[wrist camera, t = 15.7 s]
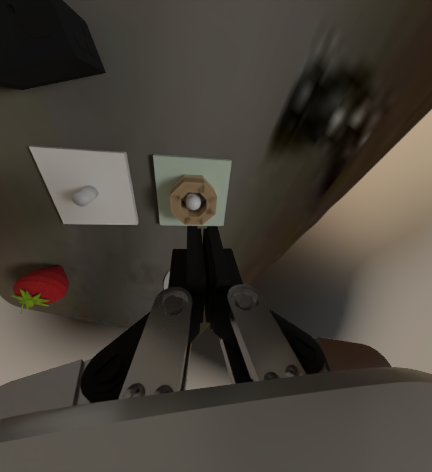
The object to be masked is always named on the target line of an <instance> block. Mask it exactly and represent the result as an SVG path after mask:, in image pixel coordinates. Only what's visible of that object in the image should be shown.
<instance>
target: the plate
mask: <svg viewBox="0 0 432 472" xmlns="http://www.w3.org/2000/svg"><path fill="white" fill-rule="evenodd" d="M153 161H154V171H155V181H156V191H157V200H158V210H159V220H160V225H184V224H183V223H182V222H181V221H180V220H178V219H177V218H176V217H175V216H174V215H173V214H171V205H170V193H171V189H172V186H173V185H174V184H175V183H176V182H177V181H178V180H179V179H180V178H181V177H182V176H183V175H184V174H188V175H203V176H204V177H205V179H206V180H207V181H208V182H209V183H210V184H211V185H212V186H213V188H214V189H215V192H216V195H217V204H216V214H215V215H214V216H213V217H211V218H210V219H209V220H208V221H206V222H205V223H204V224H203V225H187V226H223V224H224V216H225V209H226V201H227V193H228V186H229V178H230V170H231V162H232V161H231V160H228V159H214V158H200V157H186V156H172V155H158V154H154V155H153ZM182 200H183V201H184V202H185V203H186V206H187V207H188V208H189V209H190V210H197V209H198V208H199V207H200V205H201V203H202V202H203V201H205V198H204V197H203V196H202V195H201V194H200V193H191V192H188V193H187V194H186V195H185V196H184V197H183V198H182Z"/></svg>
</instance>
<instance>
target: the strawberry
mask: <svg viewBox="0 0 432 472" xmlns="http://www.w3.org/2000/svg"><path fill="white" fill-rule="evenodd" d="M68 285H69V282H68V279H67V275H66V274H65V272H64V269H63V267H61V266H53V267H48V268H43V269H40V270H36V271H33V272H30V273H28V274H26V275H25V276H23V277H21V278H19V279H18V280H17V282H16V283H15V285H14V286H13V290H14V293H15V295H16V296H15V295H10V296H13V297H15V298H17V299H19V300H22V301H20V302H18V303H23V304H26V306H27V309H29V308H31V307H32V306H33V303H34V304H38V305H43V306H49V305H46V304H47V303H52V302H55V301H58V300H60V299H61V298H62V297H63V296H64V295H65V294H66V293H67V290H68ZM23 304H22V309H23ZM21 314H22V310H21Z"/></svg>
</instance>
